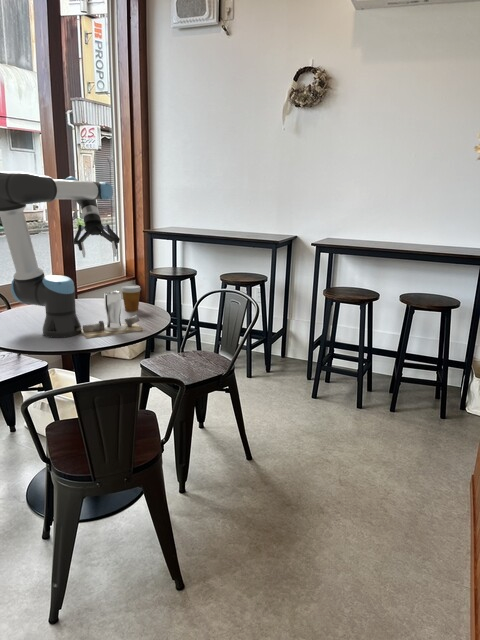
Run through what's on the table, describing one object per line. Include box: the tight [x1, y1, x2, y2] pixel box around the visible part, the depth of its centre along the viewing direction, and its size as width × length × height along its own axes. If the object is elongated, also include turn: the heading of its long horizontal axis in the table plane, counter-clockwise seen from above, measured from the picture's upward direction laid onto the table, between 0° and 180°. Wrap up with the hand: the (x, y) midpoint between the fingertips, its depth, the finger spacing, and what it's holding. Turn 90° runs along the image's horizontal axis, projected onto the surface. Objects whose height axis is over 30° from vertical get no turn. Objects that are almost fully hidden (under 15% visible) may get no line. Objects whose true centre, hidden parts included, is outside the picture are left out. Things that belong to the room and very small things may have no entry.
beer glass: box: [103, 290, 122, 329], centre depth 203 cm, size 7×7×15 cm
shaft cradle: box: [80, 314, 144, 339], centre depth 204 cm, size 24×10×6 cm, turn 122°
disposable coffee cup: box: [120, 284, 142, 313], centre depth 236 cm, size 10×10×12 cm
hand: (100, 255), depth 213 cm, fingers open, 13 cm apart
